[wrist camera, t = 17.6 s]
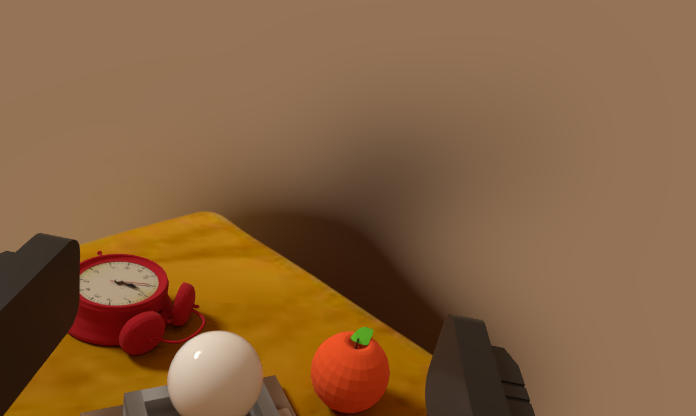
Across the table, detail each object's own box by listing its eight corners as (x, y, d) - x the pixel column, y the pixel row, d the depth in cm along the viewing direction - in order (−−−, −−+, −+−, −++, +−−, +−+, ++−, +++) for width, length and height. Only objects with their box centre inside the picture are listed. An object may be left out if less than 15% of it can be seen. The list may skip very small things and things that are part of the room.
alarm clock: (106, 239, 62) (225, 261, 57) (115, 291, 64) (230, 318, 59) (21, 281, 53) (153, 313, 48) (34, 340, 55) (162, 377, 50)
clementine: (328, 357, 57) (342, 298, 54) (393, 386, 56) (411, 327, 53) (291, 408, 51) (304, 344, 48) (363, 443, 49) (382, 379, 46)
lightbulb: (262, 483, 42) (282, 363, 38) (172, 510, 39) (183, 382, 34) (235, 420, 47) (250, 307, 42) (153, 439, 44) (160, 319, 39)
